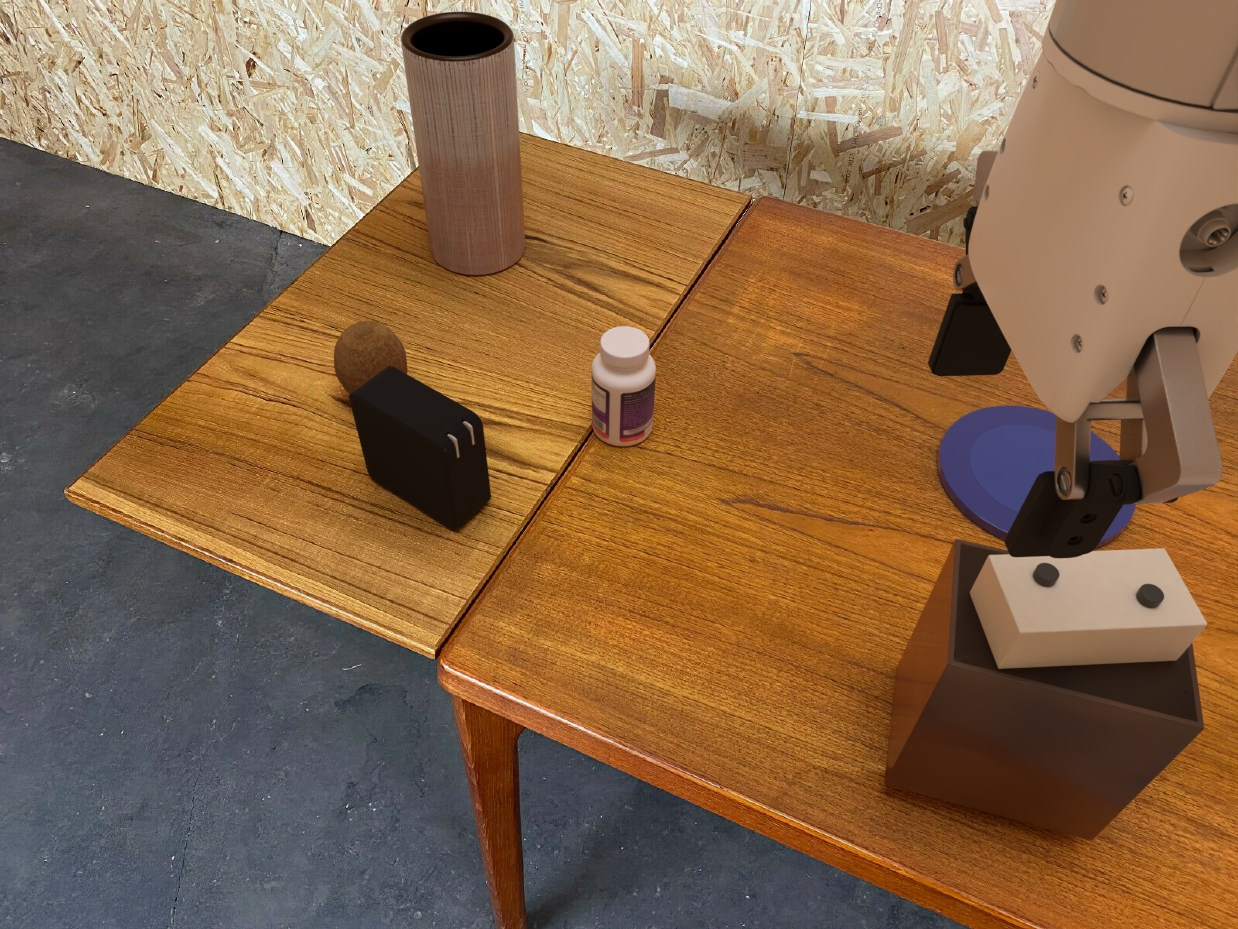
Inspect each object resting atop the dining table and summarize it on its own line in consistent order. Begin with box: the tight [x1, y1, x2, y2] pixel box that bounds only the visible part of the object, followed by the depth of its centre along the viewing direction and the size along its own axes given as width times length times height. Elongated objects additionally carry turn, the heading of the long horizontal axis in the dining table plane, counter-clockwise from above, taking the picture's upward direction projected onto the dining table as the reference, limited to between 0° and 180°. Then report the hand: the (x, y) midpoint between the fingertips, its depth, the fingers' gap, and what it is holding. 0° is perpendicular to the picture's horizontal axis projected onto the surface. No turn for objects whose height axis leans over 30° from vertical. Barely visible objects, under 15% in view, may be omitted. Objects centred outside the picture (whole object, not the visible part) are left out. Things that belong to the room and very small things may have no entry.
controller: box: [970, 547, 1208, 669], centre depth 52 cm, size 10×5×4 cm, turn 94°
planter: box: [400, 11, 526, 276], centre depth 93 cm, size 10×10×23 cm
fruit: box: [333, 320, 408, 395], centre depth 83 cm, size 6×6×8 cm
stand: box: [883, 538, 1205, 842], centre depth 59 cm, size 13×9×15 cm
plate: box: [936, 404, 1137, 550], centre depth 81 cm, size 16×16×1 cm
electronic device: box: [348, 366, 492, 532], centre depth 75 cm, size 4×10×10 cm, turn 54°
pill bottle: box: [590, 325, 657, 447], centre depth 81 cm, size 5×5×10 cm
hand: (1001, 452), depth 38 cm, fingers open, 9 cm apart
